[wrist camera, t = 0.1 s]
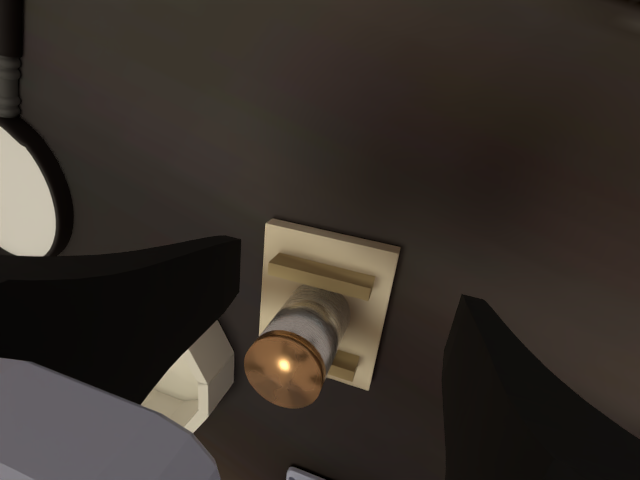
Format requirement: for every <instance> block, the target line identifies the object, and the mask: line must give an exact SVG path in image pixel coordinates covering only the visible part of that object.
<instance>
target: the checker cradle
mask: <svg viewBox="0 0 640 480" xmlns="http://www.w3.org/2000/svg"><path fill="white" fill-rule="evenodd" d="M400 248H401V247H398V246H393V245H389V244H384V243H380V242H376V241H371V240H367V239H362V238H358V237H353V236H349V235H344V234H340V233H336V232H331V231H327V230H322V229H318V228H313V227H309V226H304V225H300V224H296V223H291V222H287V221H282V220H278V219H273V218H272V219H271V220H270V221H268V222H267V223H266V226H265V243H264V260H263V277H262V294H261V311H260V328H259V336H260V334H261V333H262V332H263V331H264V329H265V328H266V327H267V325H268V324H269V323H270V322H271V320H272V319H273V318H274V316H275V315H276V314H277V313H278V311H279V310H280V309H281V307H282V306H283V305H284V304H285V302H286V301H287V300H288V299H289V297H290V296H291V295H292V293H293V292H294V291H295V290H296V289H297V288H298V287H299V286H301V285H303V284H305V285H309V286H313V287H317V288H320V289H324V290H328V291H332V292H335V293H339V294H342V295H343V297H344V298H345V299H346V301H347V303H348V305H349V308H350V315H351V316H350V322H349V325H348V327H347V329H346V332H345V334H344V336H343V339H342V341H341V344H340V346H339V348H338V351H337V353H336V355H335V358H334V360H333V362H332V365H331V367H330V369H329V372H328V374H327V376H326V377H328V378H331V379H334V380H337V381H340V382H343V383H346V384H349V385H352V386H355V387H358V388H361V389H364V390H367V391H369V387H370V383H371V379H372V375H373V370H374V366H375V361H376V357H377V352H378V348H379V343H380V339H381V334H382V330H383V325H384V321H385V316H386V312H387V307H388V303H389V298H390V293H391V289H392V284H393V280H394V275H395V271H396V266H397V262H398V257H399V253H400Z"/></svg>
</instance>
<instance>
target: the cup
mask: <svg viewBox="0 0 640 480" xmlns="http://www.w3.org/2000/svg"><path fill="white" fill-rule="evenodd" d="M233 382H234V351H233V349H232V347H231V345H230V343H229V341H228V339H227V337H226V335H225V333H224V332H223V330H222V328H221V326H220V324H219V322H218V320H216V321H215V322H214V324H213V325H212V326H211V327H210V328H209V329H208V330H207V331H206V332H205V333H204V334H203V335H202V336H201V337H200V338H199V339H198V340H197V341H196V342H195V343H194V344H193V345H192V346H191V347H190V348H189V349H188V350H187V351H186V352H185V353H184V354H183V355H182V356H181V357H180V358H179V359H178V360H177V361H176V362H175V363H174V364H173V365H172V366H171V367H170V368H169V370H168V371H167V372H166V373H165V375H164V376H163V377H162V378H161V380H160V381H159V382H158V383H157V385H156V386H155V387H154V388H153V389H152V391H151V392H150V393H149V395H148V396H147V397H146V399H145V400H144V401H143V403H142V404H141V405H142V406H144V407H147V408H149V409H152V410H154V411H157V412H159V413H162V414H163V415H165V416H166V417H168V418H170V419H171V420H173V421H175V422H176V423H178V424H179V425H181V426H183V427H184V428H186V429H187V430H189V431H191V432H192V433H194V432H195V430H196V429H197V428H198V427H199V426H200V425H201V424H202V423H203V422H204V421H205V420H206V419H207V418H208V417H209V415H210V414H211V412H212V411H213V410H214V408H215V407H216V406H217V404H218V403H219V402H220V400H221V399H222V398H223V396H224V395H225V394H226V392H227V391H228V390H229V388H230V387H231V386H232V384H233Z"/></svg>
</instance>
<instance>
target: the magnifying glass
mask: <svg viewBox="0 0 640 480" xmlns="http://www.w3.org/2000/svg"><path fill="white" fill-rule="evenodd" d="M21 56H22V0H0V255H13V256H57V255H58V254H59V253H61V252H62V251H63V250H64V248H65V247H66V246H67V244H68V242H69V240H70V237H71V234H72V229H73V205H72V199H71V195H70V191H69V188H68V184H67V182H66V179H65V176H64V174H63V172H62V170H61V168H60V166H59V164H58V162H57V160H56V158H55V157H54V155H53V153H52V152H51V150H50V149H49V148H48V146H47V145H46V143H45V142H44V140H43V139H42V138H41V137H40V136H39V134H38V133H37V132H36V131H35V130H34V129H33V128H32V127H31V126H30V125H29V124H27V123H26V122H25V121H24V120H22V119H21V118H20V117H18V114H20V109H19V107H18V105H19V104H20V98H19V97H18V78H20V72H19V70H18V67H20V60H19V59H18V57H21Z"/></svg>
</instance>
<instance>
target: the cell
mask: <svg viewBox="0 0 640 480" xmlns="http://www.w3.org/2000/svg"><path fill="white" fill-rule="evenodd" d="M350 316H351V315H350V308H349V305H348V303H347V301H346V299H345V298H344V297H343V295H342V294H339V293H335V292H332V291H328V290H324V289H320V288H317V287H313V286H309V285H305V284H303V285H301V286H299V287H298V288H297V289H296V290H295V291H294V292H293V293H292V295H291V296H290V297H289V299H288V300H287V301H286V302H285V304H284V305H283V306H282V307H281V309H280V310H279V311H278V313H277V314H276V315H275V316H274V318H273V319H272V320H271V322H270V323H269V324H268V325H267V327H266V328H265V329H264V331H263V332H262V333H261V334H260V336H259V337H258V338H257V340H256V341H255V342H254V343H253V345H252V346H251V347H250V349H249V350H248V351H247V353H246V356H245V360H244V368H245V373H246V376H247V378H248V380H249V382H250V384H251V385H252V386H253V388H254V389H255V390H256V391H257V392H258V393H259V394H260V395H261V396H262V397H264V398H265V399H266V400H268V401H270V402H271V403H273V404H276V405H278V406H281V407H285V408H302V407H306V406H308V405H310V404H311V403H313V402H314V401H315V400H316V398H317V397H318V395H319V393H320V391H321V388H322V386H323V383H324V381H325V379H326V376H327V374H328V372H329V369H330V367H331V365H332V362H333V360H334V358H335V355H336V353H337V351H338V348H339V346H340V344H341V341H342V339H343V336H344V334H345V332H346V329H347V327H348V325H349V322H350Z"/></svg>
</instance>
